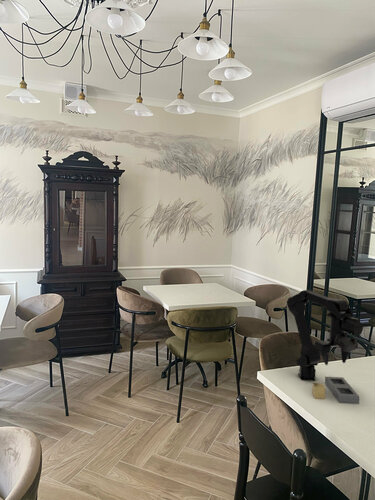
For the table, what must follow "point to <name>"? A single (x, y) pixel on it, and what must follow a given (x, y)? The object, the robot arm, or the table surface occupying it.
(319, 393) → the brass block
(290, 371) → the table surface
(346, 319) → the robot arm
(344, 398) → the grey slotted block
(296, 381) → the table surface
